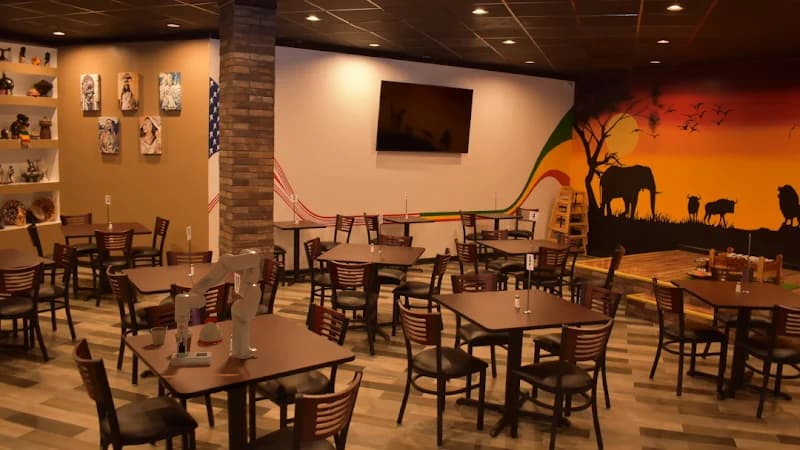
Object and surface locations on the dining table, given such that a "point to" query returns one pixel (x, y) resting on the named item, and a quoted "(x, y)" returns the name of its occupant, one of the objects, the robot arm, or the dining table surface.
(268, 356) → the dining table surface
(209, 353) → the panel
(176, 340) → the disposable coffee cup
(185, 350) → the plug
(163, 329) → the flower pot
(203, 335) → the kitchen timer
